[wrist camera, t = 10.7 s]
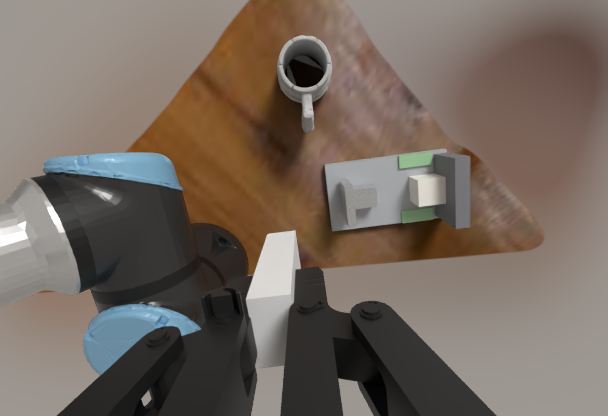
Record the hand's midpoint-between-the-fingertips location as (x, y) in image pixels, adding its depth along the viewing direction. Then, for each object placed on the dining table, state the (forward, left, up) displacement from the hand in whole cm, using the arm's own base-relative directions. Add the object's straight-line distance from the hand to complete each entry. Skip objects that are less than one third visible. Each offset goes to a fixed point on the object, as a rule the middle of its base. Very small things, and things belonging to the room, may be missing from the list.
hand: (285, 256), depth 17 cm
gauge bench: (+14, -5, -34) cm, 37 cm away
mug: (+3, +12, -35) cm, 37 cm away
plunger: (+9, -5, -33) cm, 34 cm away
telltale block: (+19, -5, -33) cm, 39 cm away
